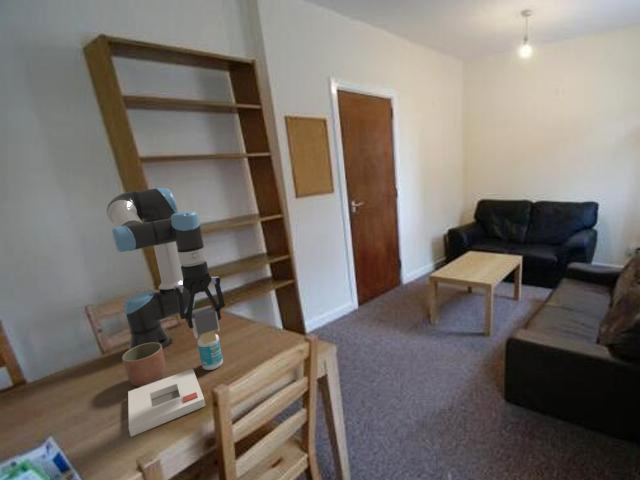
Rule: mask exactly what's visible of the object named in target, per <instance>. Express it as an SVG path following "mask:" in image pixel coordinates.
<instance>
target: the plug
mask: <svg viewBox="0 0 640 480" xmlns="http://www.w3.org/2000/svg"><path fill="white" fill-rule="evenodd" d="M214 309H215V308H214V307H213V305H212V304H211V305H205V306H203V307H200V308H199V307H198V308H196V309H193V311H192V316H193V317H194V319H195V324H196V329H197V334H198V335H199V336H200V337H199V338H201V341H202V343H203V345H204V344H207V343H210V342H213V341H216V335H215V334H216V331H217V330H216V329H218V325H217V319H216V314H215V310H214Z"/></svg>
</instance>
